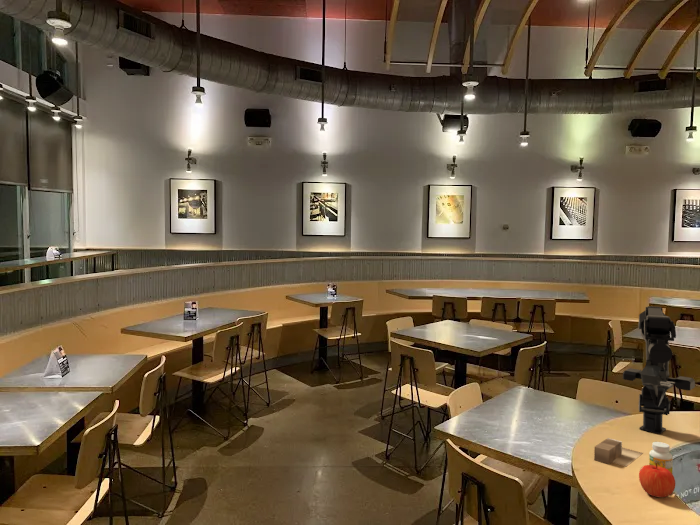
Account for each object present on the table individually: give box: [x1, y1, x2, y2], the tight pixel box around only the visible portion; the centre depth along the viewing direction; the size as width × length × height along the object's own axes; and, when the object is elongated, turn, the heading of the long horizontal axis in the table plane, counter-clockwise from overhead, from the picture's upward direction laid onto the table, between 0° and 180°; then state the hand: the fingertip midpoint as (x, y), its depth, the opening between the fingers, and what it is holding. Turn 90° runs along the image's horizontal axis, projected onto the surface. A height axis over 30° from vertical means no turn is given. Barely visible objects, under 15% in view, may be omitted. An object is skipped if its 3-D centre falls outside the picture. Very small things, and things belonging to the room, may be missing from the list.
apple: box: [638, 463, 676, 498], centre depth 130 cm, size 8×8×8 cm
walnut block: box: [593, 437, 623, 465], centre depth 152 cm, size 4×4×10 cm
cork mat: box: [611, 446, 644, 467], centre depth 154 cm, size 14×8×1 cm, turn 133°
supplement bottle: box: [648, 441, 674, 475], centre depth 139 cm, size 5×5×10 cm
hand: (657, 406), depth 161 cm, fingers closed
